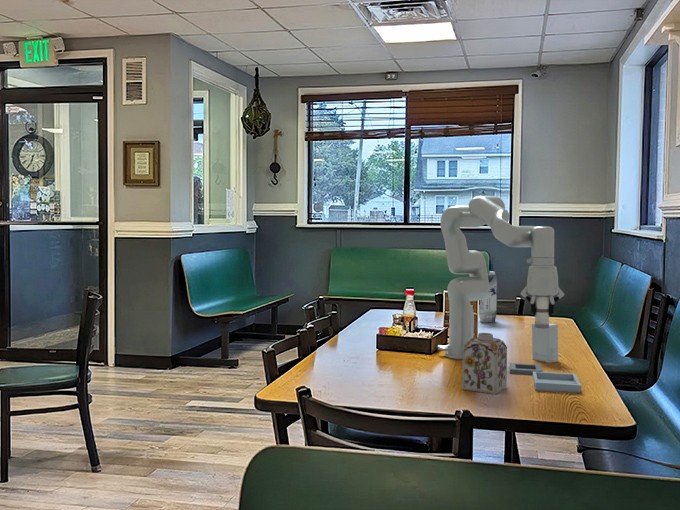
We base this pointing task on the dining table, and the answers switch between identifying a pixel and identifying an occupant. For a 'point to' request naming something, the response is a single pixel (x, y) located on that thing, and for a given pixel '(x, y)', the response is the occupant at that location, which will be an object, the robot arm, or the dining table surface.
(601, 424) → the dining table surface
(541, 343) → the skincare box
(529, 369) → the socket
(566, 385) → the tray
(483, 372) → the decorative jar
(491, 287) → the juice carton
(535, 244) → the robot arm
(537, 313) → the cylinder
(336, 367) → the dining table surface
